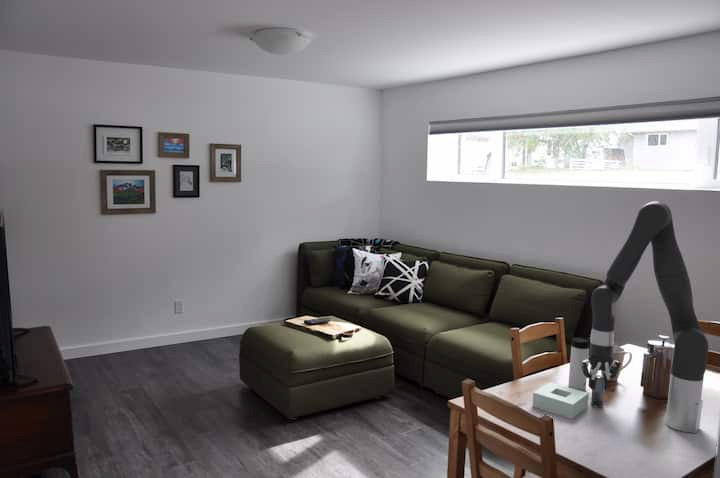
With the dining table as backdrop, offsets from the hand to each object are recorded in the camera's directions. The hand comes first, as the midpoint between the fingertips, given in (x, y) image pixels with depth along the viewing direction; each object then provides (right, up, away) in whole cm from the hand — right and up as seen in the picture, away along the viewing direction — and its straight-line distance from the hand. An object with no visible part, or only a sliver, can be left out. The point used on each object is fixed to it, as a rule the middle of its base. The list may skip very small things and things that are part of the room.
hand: (598, 388), depth 196 cm
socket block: (-14, -6, -1) cm, 15 cm away
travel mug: (-1, -5, +16) cm, 17 cm away
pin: (0, -6, +1) cm, 6 cm away
